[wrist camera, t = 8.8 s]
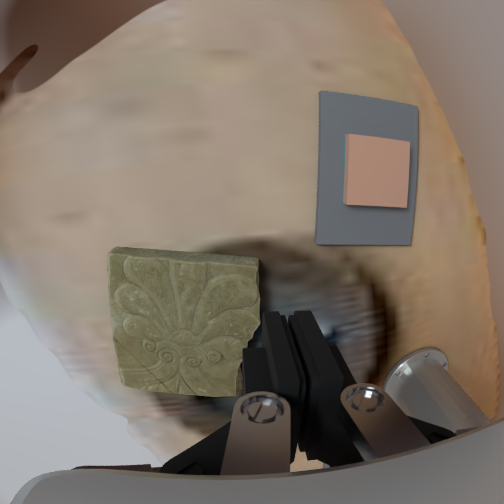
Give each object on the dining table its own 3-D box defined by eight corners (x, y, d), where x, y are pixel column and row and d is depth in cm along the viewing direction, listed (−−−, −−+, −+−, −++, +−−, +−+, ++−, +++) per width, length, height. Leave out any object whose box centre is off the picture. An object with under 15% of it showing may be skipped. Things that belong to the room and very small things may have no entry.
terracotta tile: (342, 202, 37) (400, 206, 37) (346, 204, 35) (406, 207, 36) (344, 134, 34) (404, 142, 35) (349, 133, 33) (410, 141, 33)
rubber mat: (407, 243, 39) (410, 244, 38) (314, 242, 38) (316, 244, 38) (414, 107, 34) (417, 106, 34) (319, 92, 34) (320, 90, 33)
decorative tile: (125, 375, 43) (118, 390, 40) (113, 245, 38) (103, 253, 34) (250, 387, 44) (251, 402, 41) (264, 255, 39) (267, 264, 36)
